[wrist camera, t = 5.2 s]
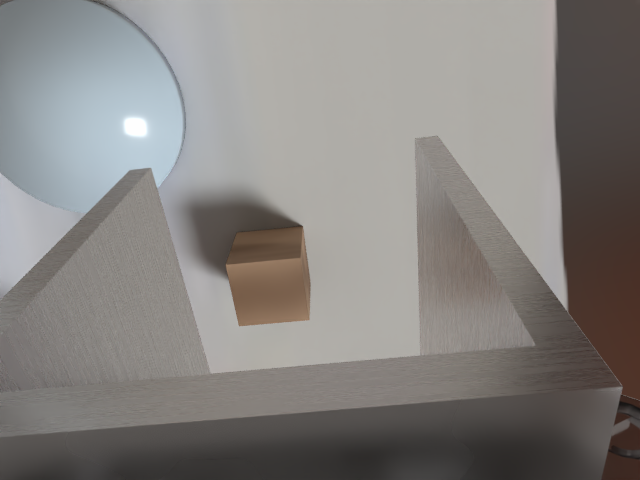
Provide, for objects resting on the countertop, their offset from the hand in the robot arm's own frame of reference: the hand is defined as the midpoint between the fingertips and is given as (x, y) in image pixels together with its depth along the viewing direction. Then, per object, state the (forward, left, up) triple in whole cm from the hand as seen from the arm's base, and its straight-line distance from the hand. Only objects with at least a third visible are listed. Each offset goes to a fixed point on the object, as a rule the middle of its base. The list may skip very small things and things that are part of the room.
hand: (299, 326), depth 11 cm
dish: (+5, +11, -18) cm, 22 cm away
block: (-7, +5, -18) cm, 20 cm away
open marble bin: (0, 0, -2) cm, 2 cm away
